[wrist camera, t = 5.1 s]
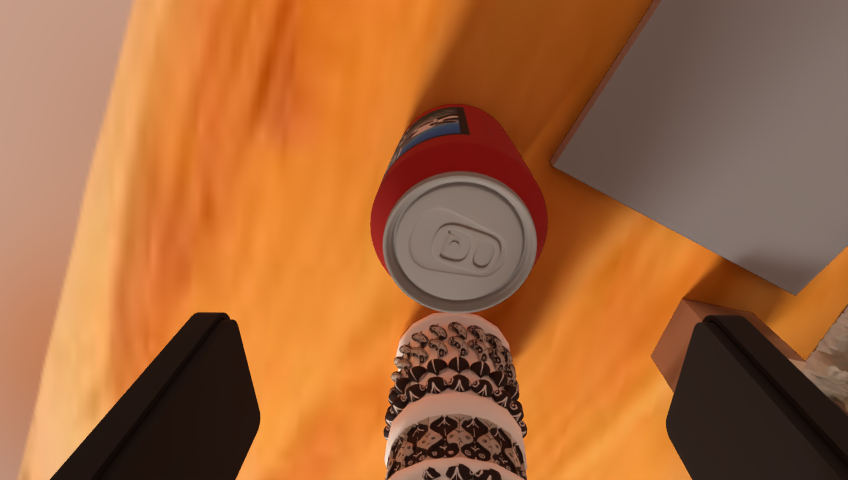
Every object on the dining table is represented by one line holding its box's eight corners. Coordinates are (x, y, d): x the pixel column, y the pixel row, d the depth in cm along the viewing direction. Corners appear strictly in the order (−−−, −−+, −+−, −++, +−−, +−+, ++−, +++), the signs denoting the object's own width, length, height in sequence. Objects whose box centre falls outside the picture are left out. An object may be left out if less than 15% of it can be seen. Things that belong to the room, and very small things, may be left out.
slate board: (1010, 66, 23) (1033, 67, 22) (784, 287, 29) (795, 295, 28) (736, -128, 20) (749, -135, 19) (549, 161, 26) (552, 166, 25)
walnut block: (752, 312, 30) (807, 362, 25) (716, 368, 32) (761, 424, 27) (681, 297, 29) (724, 345, 25) (650, 355, 32) (684, 409, 27)
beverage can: (416, 84, 24) (392, 124, 14) (529, 123, 25) (594, 191, 14) (384, 194, 27) (342, 300, 16) (486, 226, 28) (512, 349, 17)
